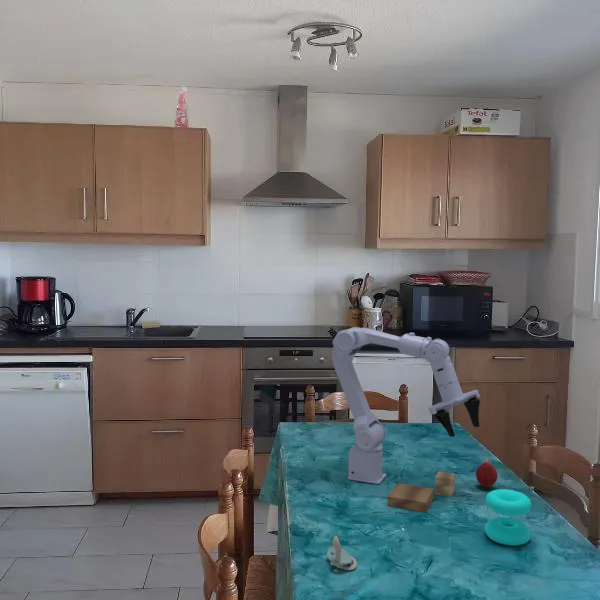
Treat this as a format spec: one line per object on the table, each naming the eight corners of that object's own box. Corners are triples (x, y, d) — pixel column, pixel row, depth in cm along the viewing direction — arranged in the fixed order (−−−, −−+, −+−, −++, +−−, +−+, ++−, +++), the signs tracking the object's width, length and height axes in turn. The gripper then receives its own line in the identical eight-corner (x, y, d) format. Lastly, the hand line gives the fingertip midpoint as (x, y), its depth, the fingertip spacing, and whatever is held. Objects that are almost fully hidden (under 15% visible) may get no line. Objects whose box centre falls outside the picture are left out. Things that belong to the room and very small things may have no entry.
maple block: (435, 494, 168) (435, 476, 168) (438, 488, 172) (438, 471, 172) (451, 497, 166) (452, 479, 166) (454, 491, 170) (455, 473, 170)
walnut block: (387, 507, 160) (387, 496, 160) (397, 493, 169) (397, 483, 169) (426, 514, 156) (426, 502, 156) (433, 499, 165) (434, 488, 165)
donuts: (492, 484, 149) (535, 493, 144) (491, 524, 150) (534, 534, 144) (480, 498, 140) (526, 508, 135) (479, 540, 141) (524, 552, 136)
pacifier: (352, 555, 134) (325, 557, 133) (353, 528, 134) (326, 529, 133) (360, 573, 127) (332, 574, 126) (362, 543, 127) (333, 545, 126)
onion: (498, 492, 169) (499, 464, 168) (476, 491, 170) (477, 462, 170) (495, 485, 175) (496, 457, 174) (474, 483, 176) (475, 455, 175)
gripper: (430, 391, 162) (447, 441, 161) (477, 374, 165) (495, 423, 164) (419, 391, 169) (436, 439, 168) (465, 375, 172) (482, 421, 171)
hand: (464, 431), depth 166 cm, fingers open, 7 cm apart
